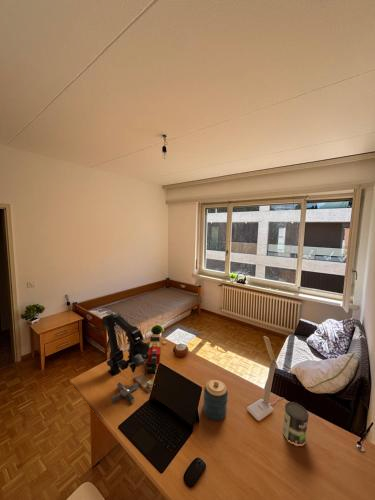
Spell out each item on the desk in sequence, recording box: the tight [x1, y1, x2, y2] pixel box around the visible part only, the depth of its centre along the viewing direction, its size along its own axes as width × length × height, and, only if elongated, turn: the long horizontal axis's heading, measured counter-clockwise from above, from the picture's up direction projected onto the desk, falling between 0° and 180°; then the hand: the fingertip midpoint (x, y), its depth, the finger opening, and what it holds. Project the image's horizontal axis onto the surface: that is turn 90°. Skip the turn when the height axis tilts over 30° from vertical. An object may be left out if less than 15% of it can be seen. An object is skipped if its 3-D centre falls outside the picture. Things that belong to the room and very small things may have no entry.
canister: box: [202, 379, 229, 422], centre depth 114 cm, size 13×13×18 cm
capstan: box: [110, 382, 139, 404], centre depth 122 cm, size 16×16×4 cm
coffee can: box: [282, 401, 310, 444], centre depth 102 cm, size 10×10×14 cm
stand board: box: [133, 372, 154, 394], centre depth 132 cm, size 16×6×4 cm, turn 47°
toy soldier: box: [143, 336, 161, 376], centre depth 152 cm, size 14×12×30 cm
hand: (133, 372), depth 131 cm, fingers closed
